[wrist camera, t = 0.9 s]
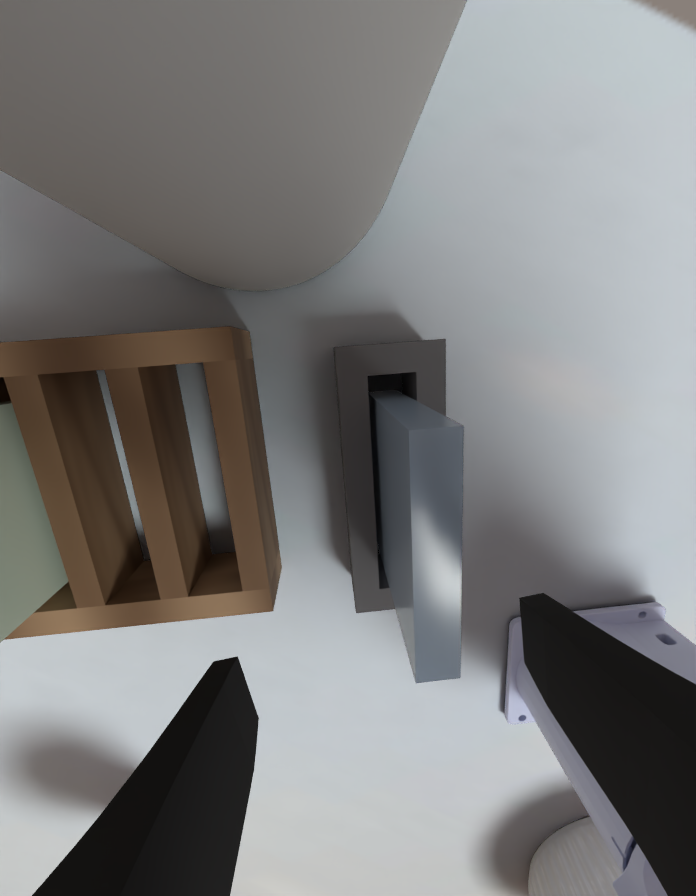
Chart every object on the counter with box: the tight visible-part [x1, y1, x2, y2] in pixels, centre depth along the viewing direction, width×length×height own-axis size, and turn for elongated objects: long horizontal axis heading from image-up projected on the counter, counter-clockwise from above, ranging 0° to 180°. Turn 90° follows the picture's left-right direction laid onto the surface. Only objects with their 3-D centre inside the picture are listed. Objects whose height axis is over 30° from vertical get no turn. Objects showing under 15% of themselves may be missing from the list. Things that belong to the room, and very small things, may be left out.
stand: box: [333, 339, 446, 613], centre depth 17 cm, size 4×12×3 cm, turn 4°
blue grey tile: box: [368, 390, 464, 683], centre depth 14 cm, size 1×8×9 cm, turn 4°
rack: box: [0, 326, 282, 639], centre depth 16 cm, size 12×12×4 cm
